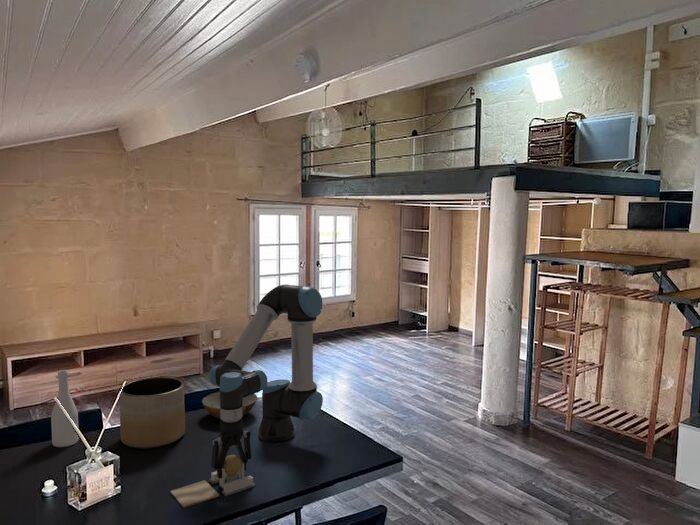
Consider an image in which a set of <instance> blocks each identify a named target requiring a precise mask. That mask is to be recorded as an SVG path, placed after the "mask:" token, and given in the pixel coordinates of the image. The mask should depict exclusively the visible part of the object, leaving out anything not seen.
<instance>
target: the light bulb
mask: <svg viewBox="0 0 700 525" xmlns="http://www.w3.org/2000/svg"><path fill="white" fill-rule="evenodd" d="M223 468H224V469H225V473H226V474H227V476H226V477H227V480H226V483H229V482H232V481H235V480H238V479H239V476H238V475H237V473H238V471H239V470H240V468H241V459H240V456H238V455H236V454H229V455H226V458H225V462H224V465H223Z"/></svg>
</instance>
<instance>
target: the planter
mask: <svg viewBox="0 0 700 525" xmlns="http://www.w3.org/2000/svg"><path fill="white" fill-rule="evenodd" d="M124 385H125V386H124V387H123V385H122V386H120V388H119V392H120V391H121V389H122V387H123V389H122V392H121V394H120V393H119V429H120V430H119V431H120V432H119V434H120V435H119V436H120V441H121V443H123V444H124V445H125V446H127V447H129V448H134V449H142V450H143V449H144V450H145V449H146V450H147V449H155V448H160V447H165V446H168V445H170V444H173V443H175V442H177V441H178V440H180V439H181V437H183V436H184V435H185V433H186V410H185V409H186V408H185V383H184V381H183V380H181V379H179V378H176V377H175V378H174V377H167V376H158V377H156V376H155V377H147V378H140V379H136V380H133V381H130V382H127V383H125V384H124Z"/></svg>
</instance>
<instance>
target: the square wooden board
mask: <svg viewBox="0 0 700 525" xmlns="http://www.w3.org/2000/svg"><path fill="white" fill-rule="evenodd" d="M169 492H170V494H171V496H173V498H174V499H175V500H176V501H177V502H178V503H179V505H180V506H181V507H182V508H183V509H187V508H189V507H192V506H194V505H198V504H201V503H203V502H206V501H209V500H211V499H212V500H213V499H216V498H218V497H220V494H219V492H217V491H216V490H215V488H213V487H212V486H211V484H209V483H208V481H206V480H205V479H204V480H201V481H197V482H194V483H191V484H188V485H184V486H182V487H179V488H175V489H172V490H170V491H169Z"/></svg>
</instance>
